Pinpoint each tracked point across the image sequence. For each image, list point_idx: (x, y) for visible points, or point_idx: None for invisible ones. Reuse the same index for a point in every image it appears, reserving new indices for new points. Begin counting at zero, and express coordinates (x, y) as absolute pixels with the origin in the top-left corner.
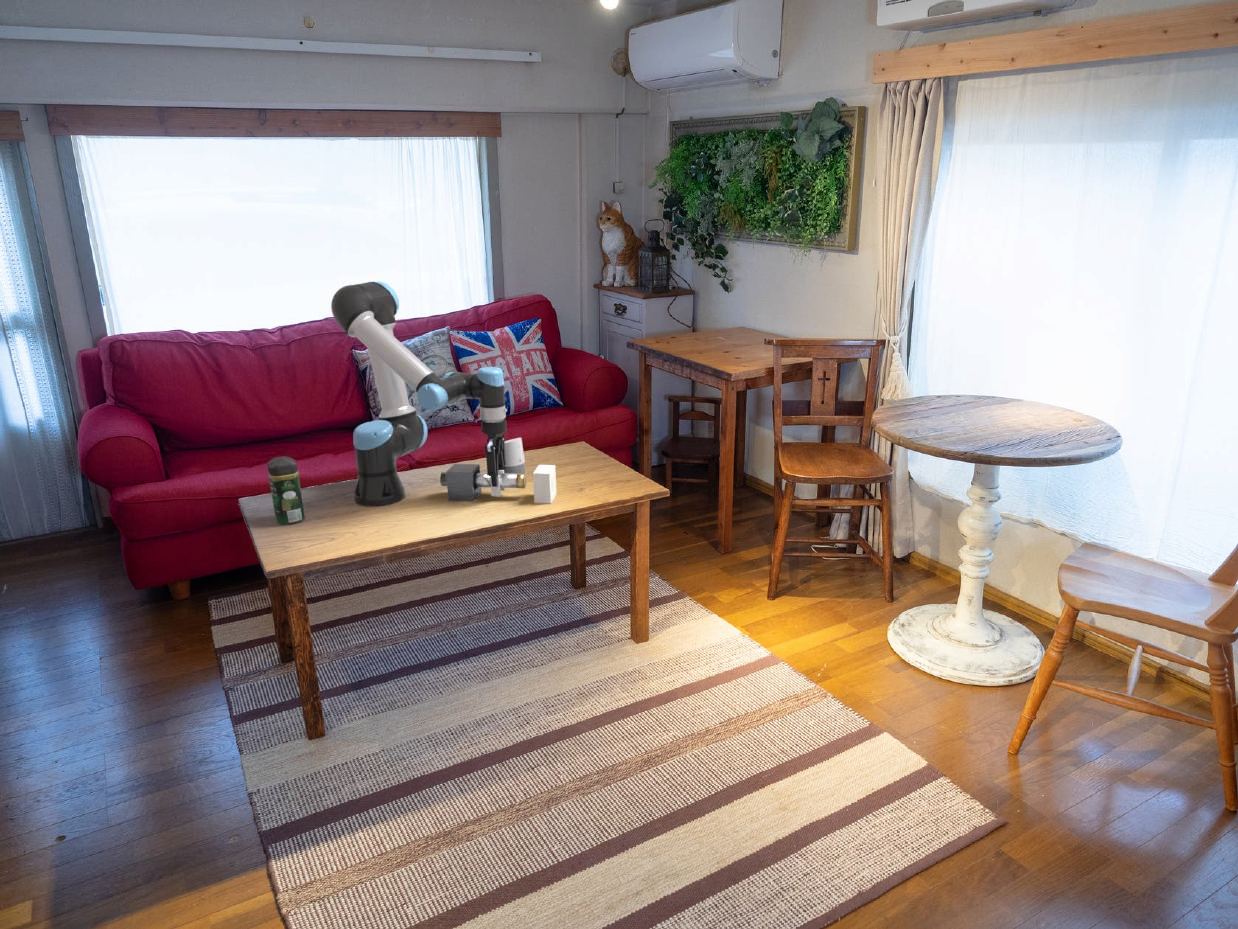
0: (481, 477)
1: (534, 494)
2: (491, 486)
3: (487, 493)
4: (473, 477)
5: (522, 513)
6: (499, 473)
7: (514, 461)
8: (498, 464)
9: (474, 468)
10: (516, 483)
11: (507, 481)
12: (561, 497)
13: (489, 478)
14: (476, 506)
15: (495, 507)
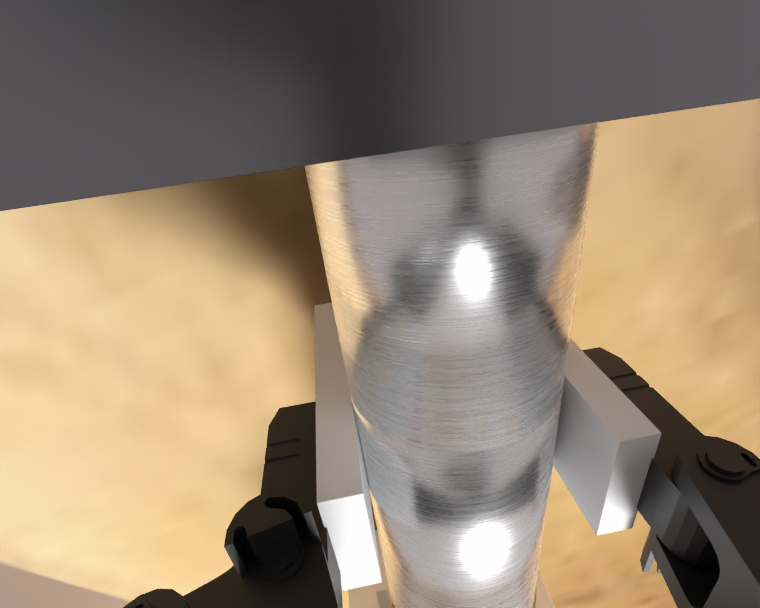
0: (358, 288)
1: (349, 600)
2: (317, 377)
3: None
4: None
5: (148, 556)
6: (499, 522)
7: None
8: (716, 591)
9: (567, 78)
10: (387, 586)
11: (382, 551)
12: None
13: (370, 407)
14: (99, 214)
15: (166, 381)
